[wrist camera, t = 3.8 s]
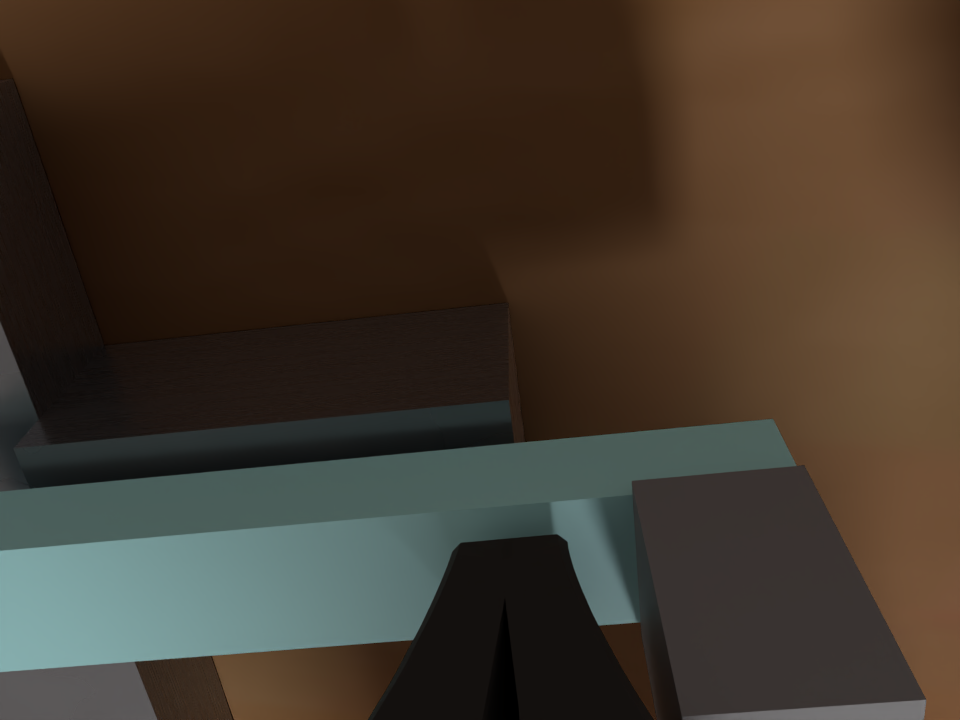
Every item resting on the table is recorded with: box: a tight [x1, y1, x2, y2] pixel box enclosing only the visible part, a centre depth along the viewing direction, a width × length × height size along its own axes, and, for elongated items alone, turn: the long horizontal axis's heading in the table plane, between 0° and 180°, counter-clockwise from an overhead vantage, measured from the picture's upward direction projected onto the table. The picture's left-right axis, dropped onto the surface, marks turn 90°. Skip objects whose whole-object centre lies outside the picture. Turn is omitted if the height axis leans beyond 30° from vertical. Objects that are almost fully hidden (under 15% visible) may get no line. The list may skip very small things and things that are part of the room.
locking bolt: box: [0, 419, 926, 720], centre depth 11 cm, size 12×2×5 cm, turn 97°
